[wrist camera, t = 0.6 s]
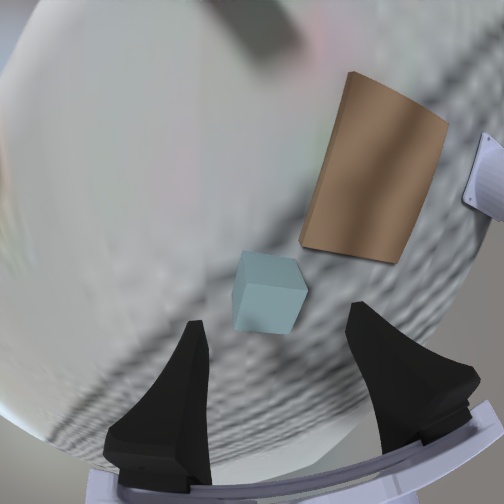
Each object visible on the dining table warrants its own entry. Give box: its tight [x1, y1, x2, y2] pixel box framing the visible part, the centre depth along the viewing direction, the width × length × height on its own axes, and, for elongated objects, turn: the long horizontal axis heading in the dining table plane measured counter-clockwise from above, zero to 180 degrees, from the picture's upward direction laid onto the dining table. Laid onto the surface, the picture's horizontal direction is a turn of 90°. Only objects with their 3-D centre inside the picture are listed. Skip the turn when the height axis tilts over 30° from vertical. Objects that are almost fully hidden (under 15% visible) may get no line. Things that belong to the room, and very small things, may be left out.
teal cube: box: [232, 251, 308, 335], centre depth 22 cm, size 4×4×4 cm
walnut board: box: [298, 71, 449, 264], centre depth 20 cm, size 10×14×1 cm
